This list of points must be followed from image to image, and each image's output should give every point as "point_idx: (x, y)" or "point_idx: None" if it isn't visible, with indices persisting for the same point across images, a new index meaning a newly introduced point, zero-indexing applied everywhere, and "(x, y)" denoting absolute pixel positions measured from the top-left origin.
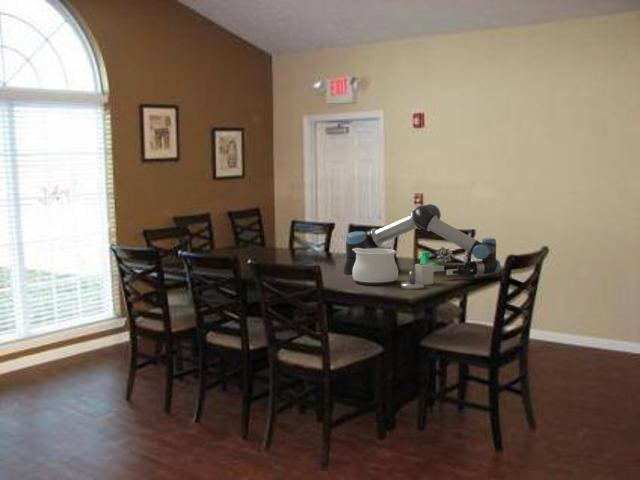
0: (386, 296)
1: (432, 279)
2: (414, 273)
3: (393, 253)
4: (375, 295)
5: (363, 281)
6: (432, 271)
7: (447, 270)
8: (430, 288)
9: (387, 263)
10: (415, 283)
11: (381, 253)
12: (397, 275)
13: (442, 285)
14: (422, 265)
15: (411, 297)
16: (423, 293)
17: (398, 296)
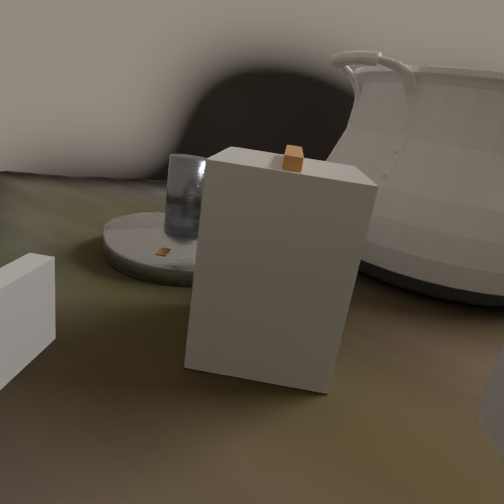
0: (108, 181)
1: (191, 319)
2: (169, 164)
3: (331, 61)
4: (150, 182)
5: None
6: (200, 235)
7: (29, 261)
8: (57, 269)
9: (349, 134)
10: (167, 234)
11: (353, 71)
12: (369, 236)
13: (41, 366)
14: (246, 150)
15: (12, 183)
16: (8, 212)
17: (72, 184)
